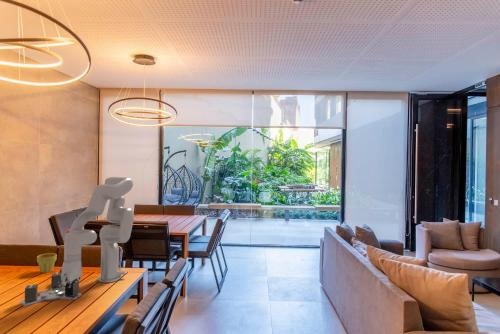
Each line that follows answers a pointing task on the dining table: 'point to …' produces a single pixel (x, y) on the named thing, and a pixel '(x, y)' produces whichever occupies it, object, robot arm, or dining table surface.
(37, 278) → the dining table surface
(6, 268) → the dining table surface
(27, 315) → the dining table surface
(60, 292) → the tribrach base
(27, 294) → the knob
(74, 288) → the knob
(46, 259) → the plant pot
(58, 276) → the knob
